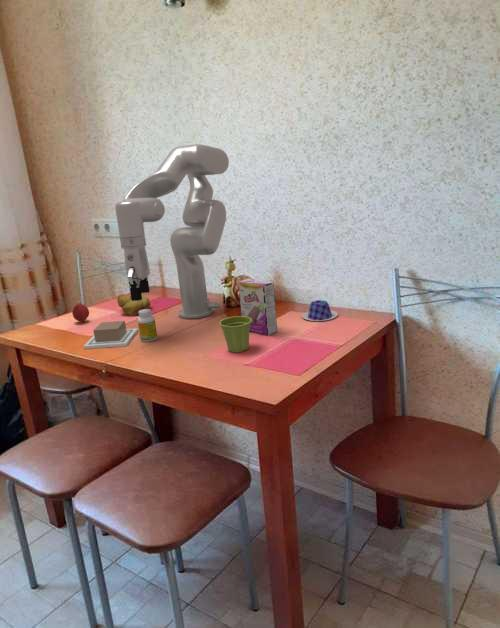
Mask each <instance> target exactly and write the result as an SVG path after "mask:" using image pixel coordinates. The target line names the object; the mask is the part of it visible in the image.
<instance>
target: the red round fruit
mask: <svg viewBox="0 0 500 628" xmlns="http://www.w3.org/2000/svg"><path fill="white" fill-rule="evenodd" d="M89 315H90V310H89V308H88V307H87V306H86V305H85V304H82V302H81V301H77V303H76V304H75V306H74V307H73V309H72V317H73V319H75V321H77V322H81V323H84V322H85V321H86V320H87V319H88V318H89Z"/></svg>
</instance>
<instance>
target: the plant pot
mask: <svg viewBox="0 0 500 628" xmlns="http://www.w3.org/2000/svg"><path fill="white" fill-rule="evenodd" d="M251 322H252V319H251V318H249V317H245V316H242V315H241V316H240V315H239V316H238V315H237V316H229V317H226V318H223V319H221V320H220V321H219V326H220V327H221V330H223V331H222V332H223V335H224V338H225V343H226V346H227V350H228V351H229V352H232V353H242V352H244V351H246V350H247V351H248V349H249V348H250V347H249V346H250V331H249V330H250V324H251Z"/></svg>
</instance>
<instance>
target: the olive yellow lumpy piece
mask: <svg viewBox="0 0 500 628" xmlns="http://www.w3.org/2000/svg"><path fill="white" fill-rule="evenodd" d="M141 294H142V300H138V301H132V300H131V295H129V294H123V293H121V294H119V295H118V296H117V298H116V299H117V305H118V306H119V308H121V310H122V312H123V313H124V315H126V316H136V315H139V311H140V310H143V309H150V307H151V304H152V303H151V301H150V298H149V297H148V295H146V293H141Z"/></svg>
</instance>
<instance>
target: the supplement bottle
mask: <svg viewBox="0 0 500 628" xmlns="http://www.w3.org/2000/svg"><path fill="white" fill-rule="evenodd" d="M152 313H153V312H152V309H150V308H148V309H143V310H140V311H139V313H138V318H137V326H138V332H139V336H140V337H139V338H140V341H141V342H142V343H143V342H145V343H146V342H147V343H149V342H154V341H156V340H157V339H158V332H157V325H156V318H155V317H154V315H152Z"/></svg>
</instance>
